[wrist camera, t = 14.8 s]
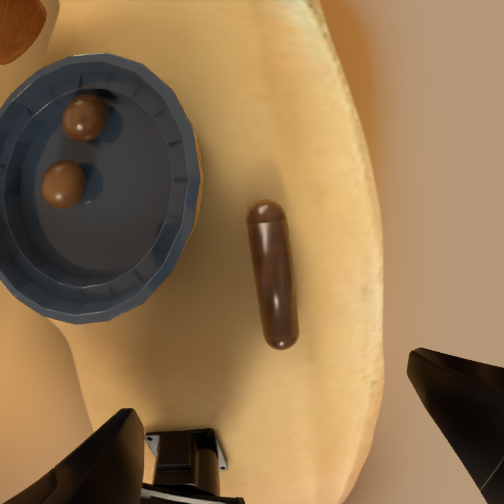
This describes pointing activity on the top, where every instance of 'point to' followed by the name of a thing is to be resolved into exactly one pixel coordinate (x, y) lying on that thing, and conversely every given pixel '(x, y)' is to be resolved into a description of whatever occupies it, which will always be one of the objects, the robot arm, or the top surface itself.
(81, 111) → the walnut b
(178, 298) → the top surface
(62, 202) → the glossy brown ball
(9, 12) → the disposable coffee cup
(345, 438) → the top surface
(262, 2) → the top surface
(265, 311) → the stick
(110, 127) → the bowl
